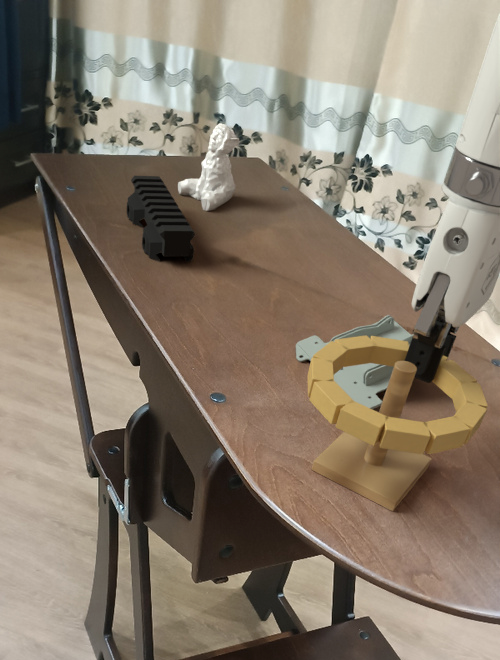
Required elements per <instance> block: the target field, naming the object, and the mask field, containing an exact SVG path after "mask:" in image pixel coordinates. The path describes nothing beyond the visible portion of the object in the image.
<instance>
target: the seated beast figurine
mask: <svg viewBox="0 0 500 660" xmlns="http://www.w3.org/2000/svg"><path fill="white" fill-rule="evenodd" d="M209 137H210V138H209V141H208V147H207V150H208V151H207V153H206V154H205V158H204V159H203V160H202V161H201V163H200V164H201V175H200V177H199V178H191V177H190V178H185V179H184V180H181V181H178V182H177V192H178V194H179V195H182V196H190V197H192V198H194V199H196V201H200V203H201V208H202V210H203V211H205V212H209V211H213V210H214V211H215V210H216V209H218V208H220V206H222V205H224V204H225V203H227V202H228V201H230V200H231V199H232V197H233V194H234V192H235V191H236V187H237V186H236V183H235V179H234V176H233V174H232V163H231V160H230V158H229V156H228V154H230V153H231V152H232V151H233V149H235V148H236V147H238V146H239V144H240V138H239V137H237V135H236V134H235V131H234V129H231V128H230V127H229V126H228V125H226V124H225V123H222V122H220V123H218V124H217V125H215V127H214V128H213V129H212V134H210V135H209Z"/></svg>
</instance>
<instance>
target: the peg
mask: <svg viewBox="0 0 500 660" xmlns="http://www.w3.org/2000/svg"><path fill="white" fill-rule="evenodd" d="M416 371H417V367H416V366H415V365H414V364H412V363H410V362H407V361H397V362H396V363H395V365H394V368H393V371H392V374H391V377H390V380H389V383H388V386H387V389H386V390H385V393H384V396H383V399H382V400H381V401H382V404H381V406H379V407H380V408H379V411H378V412H379V413H381V414H383V415H385V416H387V417H394V418H400V419H401V415H402V413H403V410H404V407H405V404H406V402H407V398H408V396H409V393H410V390H411V388H412V386H413V381H414V379H415V377H414V376H415V374H416ZM431 461H432V457H430V456H428V455H426V454H425V453H424V454H417V453H410V452H404V451H397V450H391V449H384V448H380V446H379V441H378V442H377V444H376V445H375V446H373V445H371V444H369V443H367V442H364V441H362V440H360V439H358V438H356V437H354V436H352V435H350V434H348V433H346V432H344V431H342V432H341V434H340V435H338V437H336V439H334V440H333V441H332V442H331V443H330V444H329V445H328V446H327V447H326V448H325V449H324V450H323V451H322V452H321V453H320V454H319V455H318V456H317V457H315V459H314V460H313V462H312V467H311V470H312V471H313V472H315V473H317V474H318V475H321V476H322V477H324V478H327V479H328V480H330V481H333V482H335V483H337V484H339V485H340V486H342V487H344V488H346V489H347V490H350V491H352V492H354V493H355V494H358V495H360V496H362V497H364V498H366V499H368V500H370V501H372V502H374V503H375V504H377V505H379V506H381V507H382V508H385V509H387V510H389V511H391V512H394V511H395V510H396V508H398V506H399V505H400V503H401V502H402V501H403V500H404V498H405V497H406V496H407V495H408V493H409V492H410V491H411V490H412V488H414V486H415V484H416V483H417V482H418V481H419V479H420V478H421V477H422V476H423V474H425V472H426V471H427V469H429V466H430V464H431Z"/></svg>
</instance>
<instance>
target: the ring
mask: <svg viewBox="0 0 500 660" xmlns="http://www.w3.org/2000/svg"><path fill="white" fill-rule="evenodd" d="M330 341H331V340H330ZM330 341H329V342H330ZM408 349H409V343H408V341H402V340H396V339H389V338H383V337H377V336H371V338H369V337H368V336H367V335H365V336H358V337H351V338H343V339H336V340H335V342H333V341H331V342H330V343H328V344H327V345H326V346H324V347H323V348H322V349H321V350H319V351H318V352H317V353H315V354H314V355H313V358H312V359H311V361H310V364H309V368H308V372H307V397H308V398H309V402H310V403H311V404H312V405H313V406H314V407H315V409H316V410H317V411H318V412H319V413H320V414H321V415H322V416H323V418H325V419H326V421H327V422H328V423H329V424H330V425H335V428H336V429H338V430H340V431H342V432H346V433H348V434H350V435H352V436H354V437H356V438H358V439H360V440H362V441H364V442H367V443H369V444H371V445H373V446H375V445H376V444H377V442H378V441H379V446H380V448H384V449H391V450H397V451H404V452H410V453H417V454H424V455H425V453H426V454H427V455H433V454H437V453H441V452H446V451H452V450H455V449H460V448H463V447H464V445H465V446H466V445H467V444H468V442H469V441H470V440H471V439H472V437H473V436H474V435H475V433H477V431H478V430H479V428H480V427H481V425H482V422H483V420H484V418H485V416H486V414H487V412H488V407H489V406H488V403H487V399H486V397H485V394H484V391H483V388H482V386H481V383H479V382H478V379H476V378H475V377H474V376H473V375H471V373H469V372H468V371H466V370H465V369H464V368H463V367H462V366H461V365H460V364H458V363H457V362H456V361H455V360H453V359H449V356H448V357H446V356H442V359H441V361H440V364H439V366H438V369H437V372H436V374H435V377H434V379H433V380H432V381H431V382H432V383H433V384H434V385H435V386H437V388H439V389H440V391H442V392H443V393H444V394H446V395H447V396H448V397H449V398H450V399H451V400H452V403H453V407H454V409H455V414H454V415H453V416H447V417H443V418H438V419H433V420H428V421H427V420H426V421H420V420H414V419H413V420H412V419H407V418H406V419H405V418H401V417H400V418H394V417H387V416H385V415H383V414H381V413H379V411H377V410H374V409H370V408H368V407H366V406H364V405H362V404H359V403H357V402H355V401H354V400H353V399H352V398H351V397H350V396H349V395H348V394H347V393H346V392H345V391H344V390H343V389H342V388H341V387H340V386H339V385H338V384H337V383H336V382H335V381H334V374H336V373H337V372H338V371H339V370H340V369H341V370H343V369H342V368H343V367H348V366H355V365H361V364H367V363H374V364H380V365H387V366H393V367H394V365H395V363H396V362H397V361H404V360H405V358H406V355H407V352H408Z"/></svg>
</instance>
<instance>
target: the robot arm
mask: <svg viewBox="0 0 500 660" xmlns="http://www.w3.org/2000/svg"><path fill="white" fill-rule="evenodd" d="M466 108H467V109H466V111H465V115H464V117H463V121H462V124H461V127H460V130H459V132H458V136H457V138H456V143H455V146H454V148H453V152H452V155H451V156H450V157H451V158H450V161H449V164H448V166H447V170H446V172H445V176H444V179H443V181H442V185H441V191H442V193H443V194H444V195H445V196H446V197H448V199H447V202H446V205H445V207H444V209H443V211H442V214H441V217H440V219H439V221H438V223H437V227H436V229H435V232H434V234H433V237H432V240H431V242H430V245H429V248H428V250H427V253H426V256H425V258H424V261H423V263H422V267H421V269H420V272H419V275H418V278H417V282H416V284H415V288H414V291H413V295H412V299H411V307H412V310H413V311H414V312H418V311H420V310H421V311H420V313H419V316H418V318H417V320H416V323H415V324H414V327H413V333H412V334H413V337H412V340H411V343H410V346H409V349H408V352H407V355H406V358H405V360H404V361H407V362H410V363H412V364H414V365H415V366H416V367H417V371H416V374H415V376H414V379H417V380H420V381H422V382H424V383H426V384H430V383H431V382H432V380H433V379H434V377H435V374H436V372H437V369H438V366H439V364H440V361H441V359H442V356H446V357H448V358H449V356H450V353H451V351H452V348H453V346H454V344H455V341H456V338H457V335H456V334H457V333H458V331H459V329H460V327H462V326H464V325H465V324H466V323H467V322H468V321H469V320H470V319H472V318H473V317H474V316H475V314H477V313H478V312H479V311H480V310H481V308H482V307H483V306H485V305H486V303H488V301H489V300H490V298H491V296H492V294H493V292H494V290H495V286H496V284H497V281H498V278H499V276H500V12H499V13H498V15H497V17H496V20H495V24H494V26H493V29H492V32H491V35H490V38H489V41H488V44H487V47H486V50H485V53H484V57H483V59H482V63H481V66H480V69H479V72H478V75H477V78H476V81H475V84H474V87H473V89H472V93H471V96H470V99H469V103H468V105H467V107H466Z"/></svg>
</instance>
